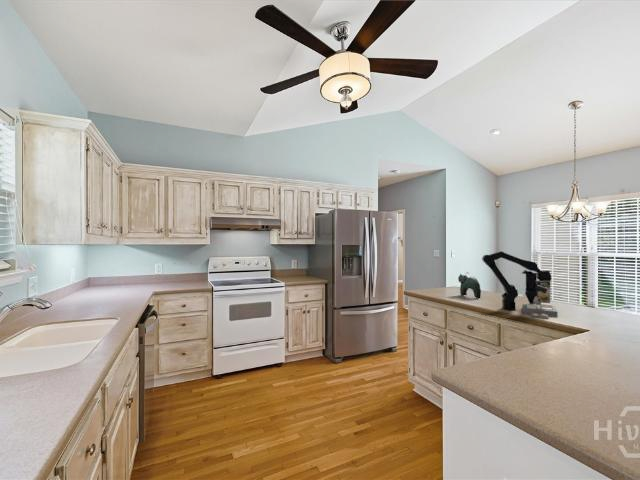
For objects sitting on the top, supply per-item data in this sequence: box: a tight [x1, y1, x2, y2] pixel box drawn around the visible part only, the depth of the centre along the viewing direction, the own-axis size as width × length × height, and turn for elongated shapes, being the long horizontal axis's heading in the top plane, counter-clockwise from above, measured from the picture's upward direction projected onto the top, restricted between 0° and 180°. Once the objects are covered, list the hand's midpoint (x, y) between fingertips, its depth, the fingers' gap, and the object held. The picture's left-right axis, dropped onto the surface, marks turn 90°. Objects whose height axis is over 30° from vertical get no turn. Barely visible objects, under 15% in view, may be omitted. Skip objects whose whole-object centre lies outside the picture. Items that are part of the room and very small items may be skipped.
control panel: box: [521, 303, 558, 318], centre depth 190 cm, size 17×17×3 cm
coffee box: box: [533, 279, 551, 305], centre depth 216 cm, size 9×6×16 cm
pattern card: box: [530, 313, 549, 320], centre depth 178 cm, size 8×8×1 cm
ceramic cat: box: [457, 271, 482, 299], centre depth 245 cm, size 20×6×20 cm, turn 17°
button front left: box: [526, 303, 538, 309], centre depth 189 cm, size 5×5×2 cm
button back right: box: [540, 302, 552, 308], centre depth 190 cm, size 5×5×2 cm
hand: (531, 304), depth 195 cm, fingers closed, pressing on button back left
